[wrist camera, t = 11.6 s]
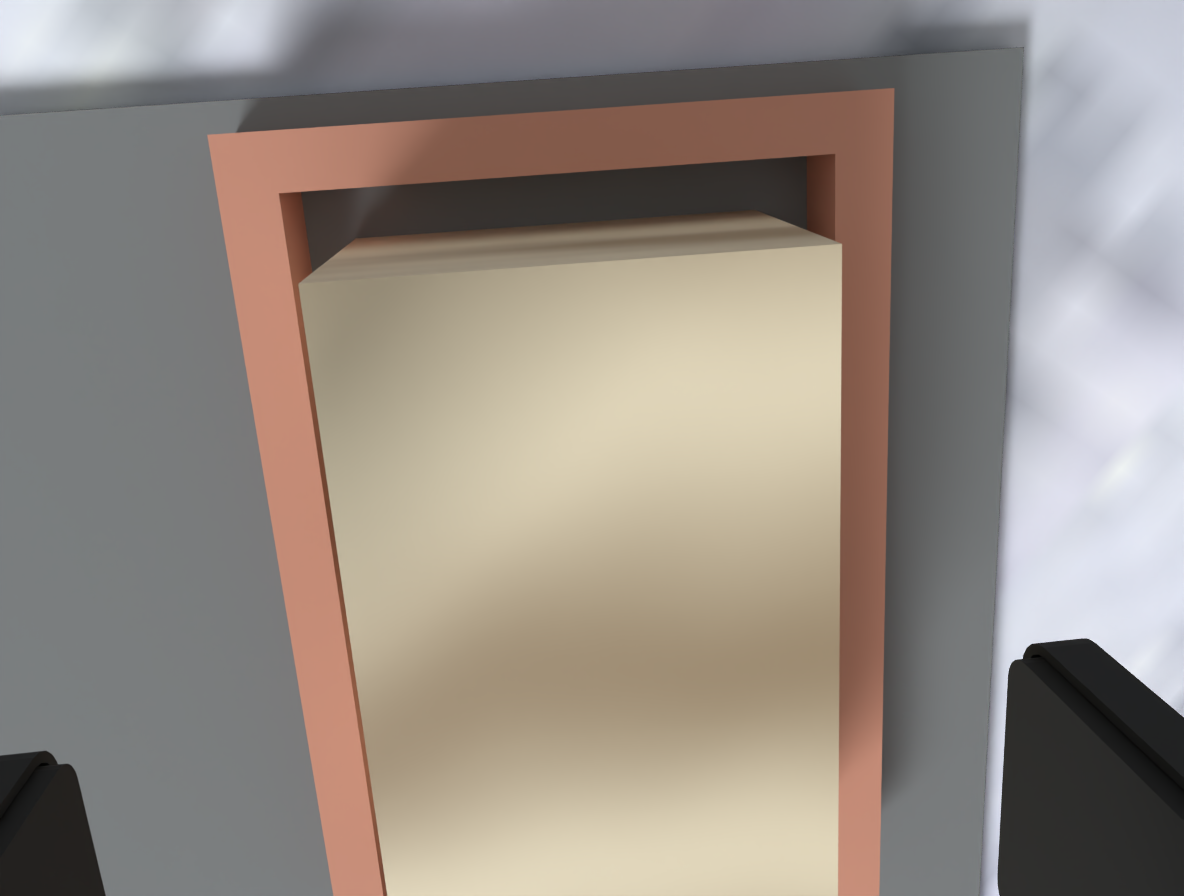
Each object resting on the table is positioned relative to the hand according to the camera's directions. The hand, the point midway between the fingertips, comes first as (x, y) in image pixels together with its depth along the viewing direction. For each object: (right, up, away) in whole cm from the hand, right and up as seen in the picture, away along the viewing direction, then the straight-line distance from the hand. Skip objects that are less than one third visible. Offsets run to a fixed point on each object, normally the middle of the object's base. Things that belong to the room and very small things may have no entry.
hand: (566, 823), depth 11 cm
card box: (0, +2, +7) cm, 7 cm away
